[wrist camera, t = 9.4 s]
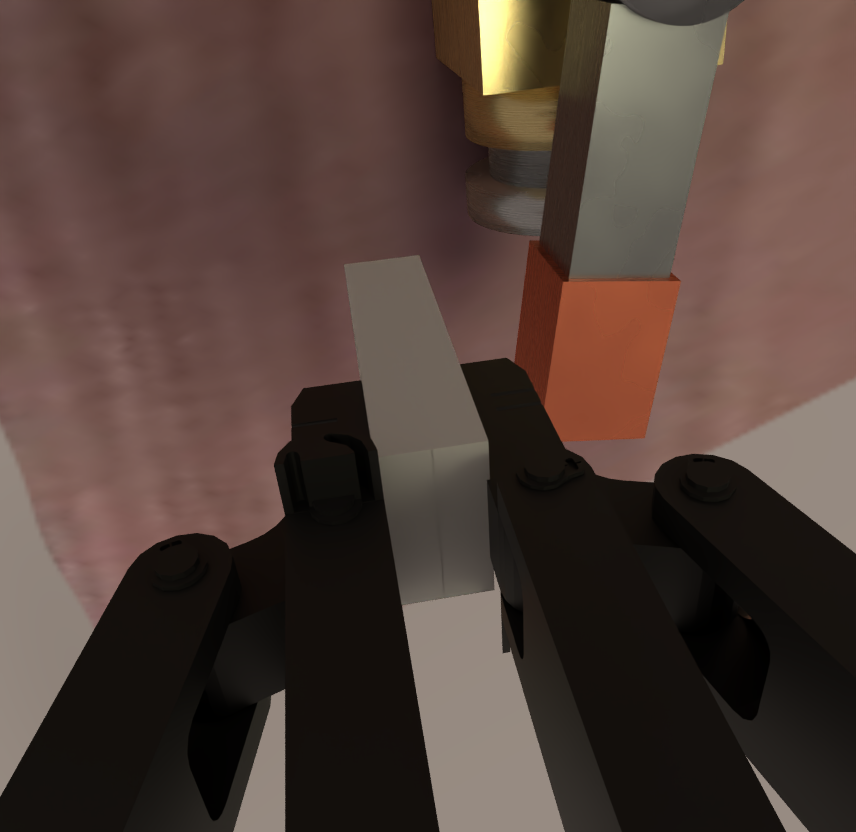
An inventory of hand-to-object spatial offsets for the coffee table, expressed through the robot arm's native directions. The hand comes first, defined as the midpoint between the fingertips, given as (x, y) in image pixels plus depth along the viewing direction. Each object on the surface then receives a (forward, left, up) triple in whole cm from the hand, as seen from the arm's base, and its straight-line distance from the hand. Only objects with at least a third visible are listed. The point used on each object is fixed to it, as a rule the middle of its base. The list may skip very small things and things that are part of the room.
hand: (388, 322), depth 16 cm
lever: (-2, +6, -5) cm, 8 cm away
